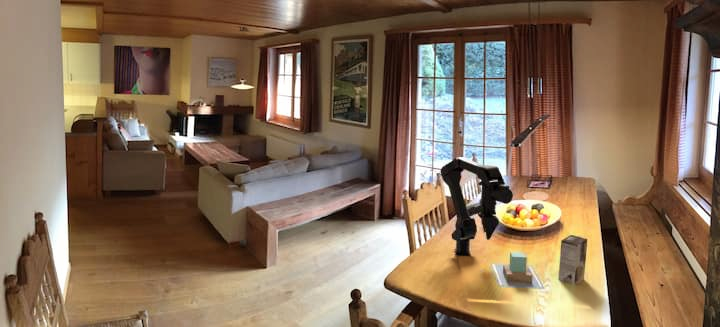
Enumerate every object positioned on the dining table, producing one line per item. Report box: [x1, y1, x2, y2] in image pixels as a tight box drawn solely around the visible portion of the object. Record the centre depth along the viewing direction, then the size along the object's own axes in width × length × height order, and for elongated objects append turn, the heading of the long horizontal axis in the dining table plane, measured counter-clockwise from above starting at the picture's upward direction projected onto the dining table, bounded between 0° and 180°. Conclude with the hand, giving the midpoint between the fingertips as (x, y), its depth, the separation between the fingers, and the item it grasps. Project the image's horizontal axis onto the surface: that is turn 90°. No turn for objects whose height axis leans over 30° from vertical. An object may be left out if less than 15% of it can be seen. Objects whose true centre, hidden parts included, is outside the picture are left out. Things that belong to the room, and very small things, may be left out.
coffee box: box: [557, 234, 588, 286], centre depth 183 cm, size 9×6×16 cm
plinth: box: [503, 265, 533, 283], centre depth 185 cm, size 9×9×3 cm
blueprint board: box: [490, 263, 546, 290], centre depth 187 cm, size 22×16×1 cm
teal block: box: [509, 251, 528, 273], centre depth 184 cm, size 5×5×6 cm
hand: (486, 235), depth 198 cm, fingers open, 9 cm apart
